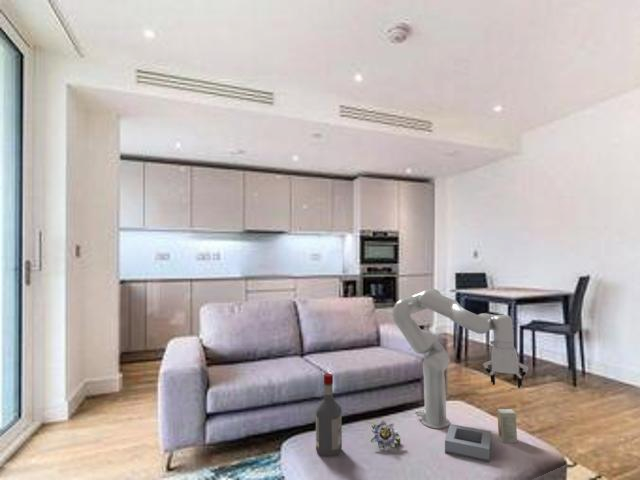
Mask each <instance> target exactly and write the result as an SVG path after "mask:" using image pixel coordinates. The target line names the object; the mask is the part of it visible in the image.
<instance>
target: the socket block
mask: <svg viewBox="0 0 640 480" xmlns="http://www.w3.org/2000/svg"><path fill="white" fill-rule="evenodd" d="M491 449H492V432H491V430H487V429H486V430H485V429H481V428H474V427H469V426H463V425H460V424H452V423H450V425H449V426H448V430H447V432H446V436H445V439H444V454H447V455H452V456H457V457H462V458H466V459H469V460H475V461H479V462H485V463H489V464H490V461H491V460H490V459H491V451H492V450H491ZM490 450H491V451H490Z"/></svg>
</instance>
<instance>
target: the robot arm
mask: <svg viewBox="0 0 640 480" xmlns="http://www.w3.org/2000/svg"><path fill="white" fill-rule="evenodd" d="M427 309H428V310H431V311H432V312H435V313H436V314H439V315H441V316H443V317H446V318H448V319H449V320H450V321H452V322H453V323H455V324H456V325H459V327H463V328H464V329H467V330H469V331H471V332H474V333H476V334H478V335H480V334H481V335H483V334H486V333H488V332H490V331H493V340H490V345H493V346H492V347H491V359H490V360H488V361H486V362H484V363H482V366H483V367H484V369H485V371H486V373H488V374H489V375H490V383H492V386H495V385H496V375H495V373H500V374H501V373H502V374H511V375H516V376H517V377H516V378H517V388H518V389H520V388H521V387H522V386H523V382H522V381H523V380H522V378H523V377H525V376H526V374H527V373H528V371H529V367H528V366H527V365H525V364H523V363H521V362H519V358H518V353H517V349H516V348H515V346H514V343H515V342H514V331H513V330H514V329H513V327H514V326H513V319H512V317H511V315H507V314H491V313H487V312H485V313H482V312H481V313H479V314H476V313H474V312H471V311H469V310H467V309H466V308H464V307H463V306H461V305H460V303H459V302H458V301H457V300H455V299H452V298H450V297H448V296H445V295H443V294H442V293H441V292H440V291H439V290H438V289H436V288H429V289H425V290H422V291H421V292H419V293H417V294H413V295H411V296H408V297H407V296H406V297H403V298H401V299H399V300H398V301H397V302H395V304H394V306H393V309H392V318H393V321H394V323H395V325H396V326H397V328H398V329H399V331H400V333H402V335H403V337H404V339H405V340H406V341H407V343H408V344H409V346H410V347H411V348H412V350H413V351H414V352H415V353H416V354H418V355H424V354H425V358H424V359H423V360H422V361H423V362H422V375H423V388H424V393H423V394H424V395H423V396H424V410H417V409H416V410H415V414H416V417H419V418H420V417H421V423H422V424H423V426H426V427H428V428H430V429H431V428H432V429H436V430H437V429H439V430H440V429H441V430H442V429H446V428H449V426H450V424H451V421H450V420H449V419H448V418H447V395H446V394H447V393H446V392H447V391H446V378H445V371H446V370H447V369H448V367H449V366H450V363H451V359H450V356H449V354H448V352H447V351H446V349H445V348H444V347H443V345H442V344H441V342H440V341H439V339H438V338H437V337H436V335H435V334H433V333H432V332H430V331H427V330H422V329H421V328H420V326H419V324H418V323H417V322H416V320H415V319H414V318H413V317H412V315H413V314H417V313H420V312H421V311H424V310H427ZM489 365H491V368H489ZM519 368H521V369H522V371H521V372H520V371H519Z"/></svg>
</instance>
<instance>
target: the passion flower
mask: <svg viewBox="0 0 640 480" xmlns="http://www.w3.org/2000/svg"><path fill="white" fill-rule="evenodd" d="M394 427H395V424H394V423H390V424H387V422H386V420H385V419H381V422H380V423H378V424H375V423H374V424H373V425H371V428H372V430H371V433H373V434H375V435H374V437H372V438H371V440H370V442H371V443H376V442H377V445H378V448H379V449H381V448H383V451H385V452H386V451H388V448H389V446H390V448H395V441H396V442H397V444H398V446H400V445H401V443H402V442H401V436H400V435H399V430H398V429H395V428H394Z"/></svg>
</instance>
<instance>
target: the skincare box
mask: <svg viewBox="0 0 640 480" xmlns="http://www.w3.org/2000/svg"><path fill="white" fill-rule="evenodd" d="M496 411H497V431H498V439H499V440H500V442H501V443H512V444H513V443H518V429H517V413H516V412H515V411H514V410H513V409H511V408H510V409H509V408H497V410H496Z"/></svg>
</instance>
